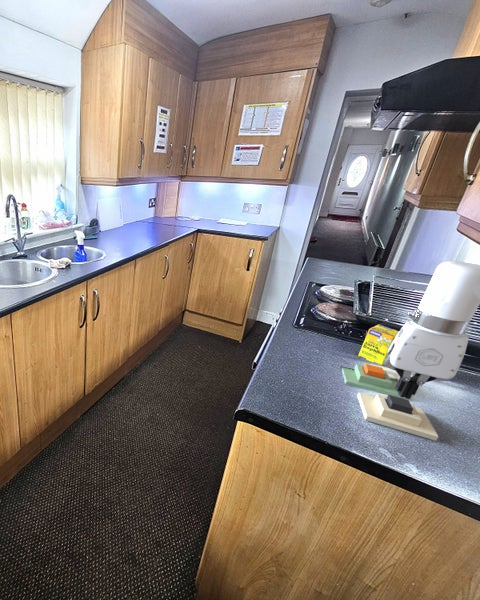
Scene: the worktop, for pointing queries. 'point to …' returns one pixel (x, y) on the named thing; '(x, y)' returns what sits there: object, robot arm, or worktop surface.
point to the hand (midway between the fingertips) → (402, 394)
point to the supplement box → (377, 344)
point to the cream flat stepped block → (396, 416)
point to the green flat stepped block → (369, 381)
